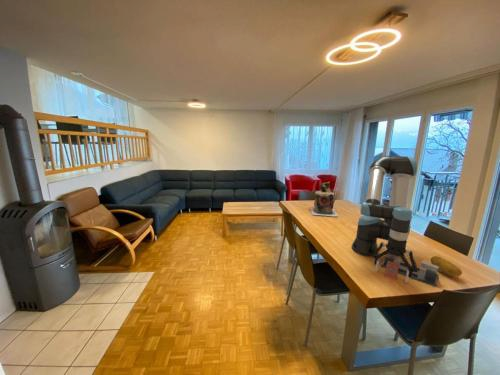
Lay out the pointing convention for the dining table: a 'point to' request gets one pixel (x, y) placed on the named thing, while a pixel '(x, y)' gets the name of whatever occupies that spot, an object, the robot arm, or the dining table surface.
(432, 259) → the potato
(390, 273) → the coupling
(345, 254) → the dining table surface
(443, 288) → the dining table surface
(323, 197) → the cookie jar
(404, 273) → the bench
